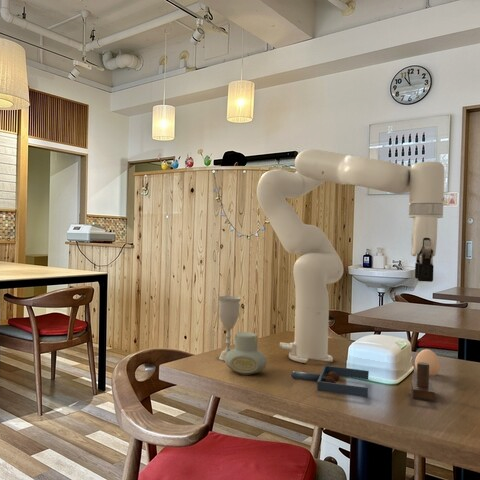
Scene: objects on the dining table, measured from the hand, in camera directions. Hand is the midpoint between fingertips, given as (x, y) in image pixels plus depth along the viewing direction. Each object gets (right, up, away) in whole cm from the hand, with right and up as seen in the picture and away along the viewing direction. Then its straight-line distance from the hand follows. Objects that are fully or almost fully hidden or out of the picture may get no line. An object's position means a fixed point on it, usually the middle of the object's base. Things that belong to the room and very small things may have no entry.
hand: (423, 279), depth 121 cm
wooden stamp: (-8, -26, -13) cm, 30 cm away
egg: (+4, -27, +6) cm, 27 cm away
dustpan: (-26, -26, -5) cm, 37 cm away
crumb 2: (-24, -24, -3) cm, 34 cm away
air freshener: (-43, -25, +7) cm, 51 cm away
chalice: (-46, -25, +20) cm, 57 cm away
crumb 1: (-26, -24, -7) cm, 36 cm away
